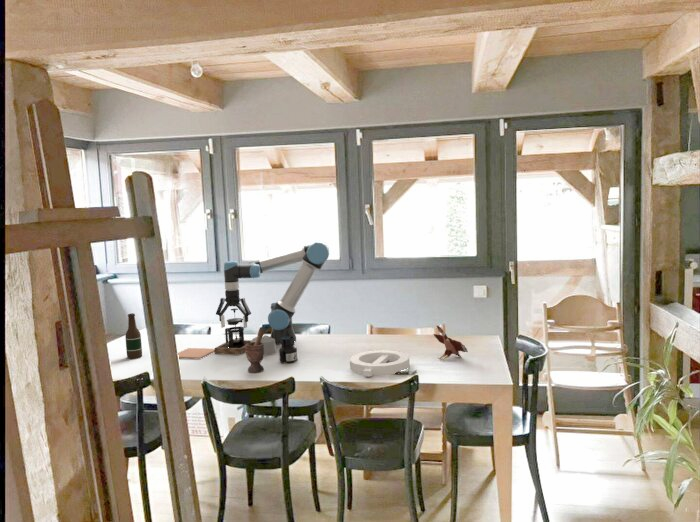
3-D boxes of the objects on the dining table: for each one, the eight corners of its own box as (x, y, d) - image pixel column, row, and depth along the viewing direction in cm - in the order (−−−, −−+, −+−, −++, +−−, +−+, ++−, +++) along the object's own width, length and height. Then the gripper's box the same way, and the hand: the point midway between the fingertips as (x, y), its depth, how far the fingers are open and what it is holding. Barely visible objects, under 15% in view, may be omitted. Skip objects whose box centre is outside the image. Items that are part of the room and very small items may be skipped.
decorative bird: (413, 348, 284) (422, 320, 285) (443, 357, 291) (451, 330, 292) (443, 362, 258) (453, 330, 258) (474, 371, 264) (484, 341, 265)
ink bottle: (290, 364, 278) (288, 340, 277) (275, 363, 283) (274, 339, 282) (301, 359, 287) (300, 336, 286) (287, 358, 291) (285, 335, 290)
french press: (249, 348, 316) (247, 307, 314) (240, 352, 308) (237, 310, 306) (232, 346, 321) (229, 306, 319) (222, 351, 312) (219, 310, 310)
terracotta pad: (217, 350, 314) (217, 348, 314) (200, 359, 297) (200, 357, 297) (188, 349, 319) (188, 348, 319) (170, 358, 301) (170, 356, 301)
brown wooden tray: (256, 345, 321) (256, 340, 321) (241, 354, 303) (241, 348, 303) (231, 345, 325) (230, 339, 325) (214, 353, 307) (214, 348, 307)
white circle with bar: (365, 380, 249) (364, 369, 249) (341, 365, 275) (340, 355, 274) (420, 370, 260) (420, 360, 260) (392, 356, 286) (391, 347, 285)
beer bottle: (145, 355, 310) (141, 312, 307) (135, 359, 302) (132, 315, 300) (133, 355, 312) (130, 312, 310) (124, 359, 305) (120, 315, 303)
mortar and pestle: (252, 366, 278) (250, 326, 277) (269, 366, 277) (267, 326, 275) (244, 373, 267) (241, 331, 265) (261, 373, 266) (259, 331, 264)
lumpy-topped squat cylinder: (257, 349, 311) (256, 334, 311) (279, 350, 307) (278, 335, 306) (248, 354, 302) (247, 338, 301) (270, 355, 297) (269, 339, 297)
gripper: (255, 288, 311) (257, 326, 313) (215, 288, 318) (217, 325, 320) (250, 290, 304) (252, 329, 306) (208, 290, 311) (210, 328, 313)
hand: (234, 327), depth 313 cm, fingers open, 13 cm apart
